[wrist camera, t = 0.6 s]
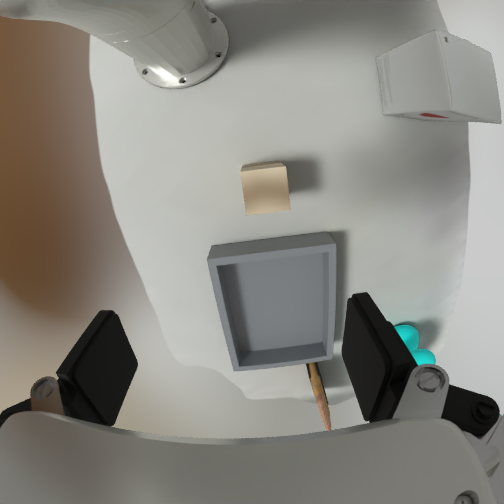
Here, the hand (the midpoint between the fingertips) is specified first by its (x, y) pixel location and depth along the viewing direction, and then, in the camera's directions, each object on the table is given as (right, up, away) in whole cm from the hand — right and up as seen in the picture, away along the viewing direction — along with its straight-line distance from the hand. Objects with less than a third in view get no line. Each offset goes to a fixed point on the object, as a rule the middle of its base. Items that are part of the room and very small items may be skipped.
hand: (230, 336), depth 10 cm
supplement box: (+22, +26, +19) cm, 39 cm away
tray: (+5, -4, +31) cm, 31 cm away
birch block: (+2, +12, +24) cm, 27 cm away
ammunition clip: (+13, -20, +38) cm, 44 cm away
